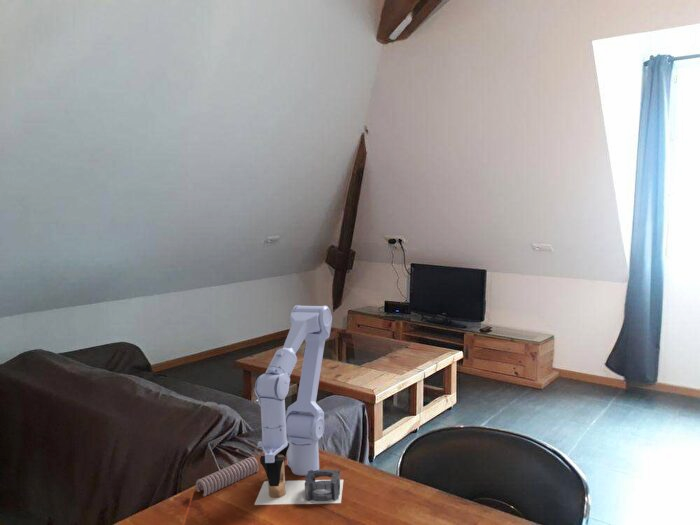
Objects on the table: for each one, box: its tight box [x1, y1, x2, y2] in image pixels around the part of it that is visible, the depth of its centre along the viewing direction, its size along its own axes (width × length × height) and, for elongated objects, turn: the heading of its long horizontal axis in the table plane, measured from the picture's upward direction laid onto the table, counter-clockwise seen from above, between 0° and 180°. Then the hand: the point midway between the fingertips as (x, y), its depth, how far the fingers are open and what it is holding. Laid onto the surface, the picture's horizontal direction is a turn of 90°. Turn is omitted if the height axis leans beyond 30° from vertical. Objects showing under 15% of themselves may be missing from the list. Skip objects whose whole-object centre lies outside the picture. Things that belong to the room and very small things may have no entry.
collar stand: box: [304, 468, 341, 501], centre depth 134 cm, size 8×8×4 cm
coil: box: [195, 456, 259, 497], centre depth 143 cm, size 5×5×18 cm
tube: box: [268, 454, 286, 498], centre depth 134 cm, size 4×4×9 cm
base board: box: [254, 479, 344, 506], centre depth 135 cm, size 20×12×1 cm, turn 88°
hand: (276, 480), depth 134 cm, fingers open, 5 cm apart
